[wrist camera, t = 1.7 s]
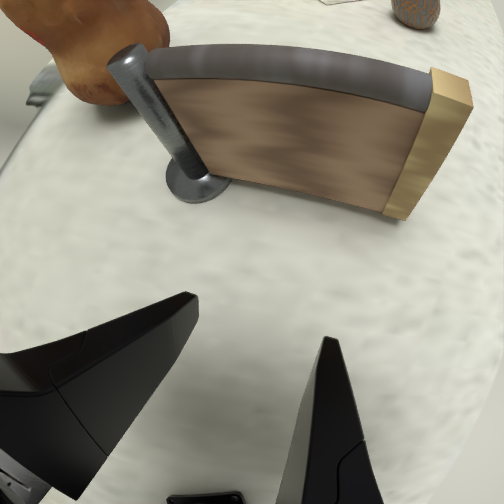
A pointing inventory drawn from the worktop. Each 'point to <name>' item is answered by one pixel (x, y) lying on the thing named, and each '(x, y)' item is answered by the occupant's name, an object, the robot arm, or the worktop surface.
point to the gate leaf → (315, 119)
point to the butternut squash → (89, 38)
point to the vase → (417, 12)
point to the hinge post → (165, 128)
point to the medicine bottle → (335, 1)
